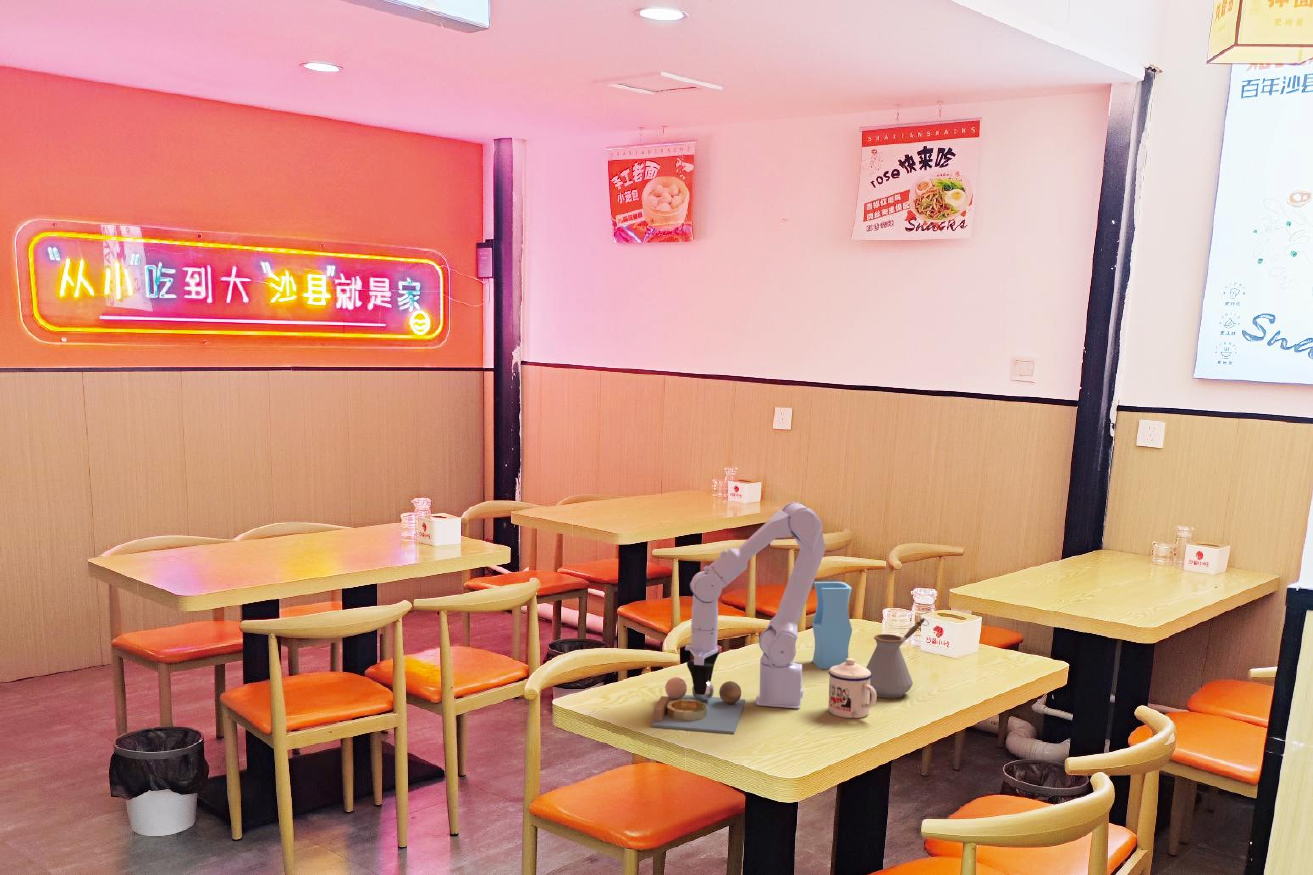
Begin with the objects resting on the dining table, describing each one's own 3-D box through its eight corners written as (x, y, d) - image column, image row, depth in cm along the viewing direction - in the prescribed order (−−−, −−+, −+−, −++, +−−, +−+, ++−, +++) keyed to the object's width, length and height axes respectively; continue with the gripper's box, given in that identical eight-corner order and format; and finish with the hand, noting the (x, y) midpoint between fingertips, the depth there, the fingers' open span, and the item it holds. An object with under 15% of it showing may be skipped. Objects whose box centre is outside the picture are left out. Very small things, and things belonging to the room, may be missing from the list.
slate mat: (745, 701, 237) (745, 688, 236) (734, 733, 216) (734, 719, 216) (669, 695, 240) (669, 682, 240) (651, 726, 219) (651, 712, 219)
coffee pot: (894, 704, 237) (896, 637, 236) (850, 692, 245) (853, 627, 244) (944, 684, 252) (947, 622, 251) (902, 674, 260) (904, 613, 259)
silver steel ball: (715, 698, 237) (715, 677, 236) (712, 705, 232) (712, 683, 232) (693, 696, 238) (694, 675, 237) (690, 703, 233) (690, 681, 233)
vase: (811, 659, 271) (813, 581, 269) (841, 659, 271) (844, 581, 270) (819, 669, 263) (821, 588, 261) (850, 668, 264) (853, 588, 262)
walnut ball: (742, 700, 236) (742, 679, 235) (739, 707, 231) (740, 685, 231) (720, 698, 237) (721, 677, 236) (717, 705, 232) (718, 684, 231)
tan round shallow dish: (712, 711, 228) (712, 702, 228) (697, 723, 221) (697, 714, 220) (676, 705, 232) (676, 697, 232) (660, 716, 224) (660, 708, 224)
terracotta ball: (688, 696, 238) (688, 675, 238) (684, 703, 233) (685, 681, 233) (666, 694, 239) (667, 673, 238) (663, 701, 234) (663, 679, 234)
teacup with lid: (818, 710, 232) (820, 657, 231) (848, 702, 237) (849, 651, 236) (859, 726, 222) (861, 670, 221) (889, 718, 228) (891, 664, 227)
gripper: (691, 618, 241) (689, 677, 242) (680, 634, 227) (678, 697, 228) (722, 620, 240) (720, 680, 241) (713, 636, 226) (711, 699, 227)
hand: (702, 688), depth 235 cm, fingers open, 7 cm apart
